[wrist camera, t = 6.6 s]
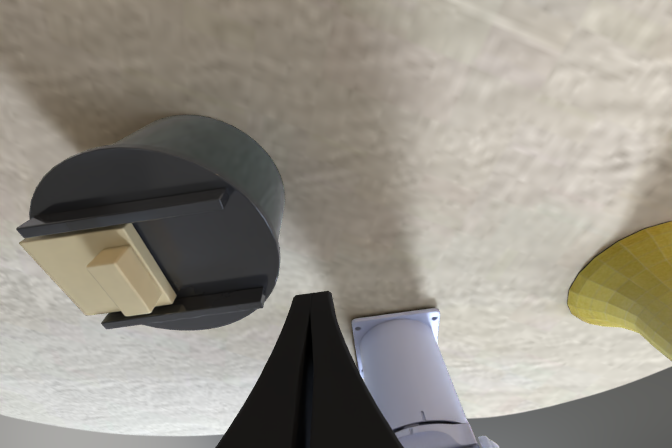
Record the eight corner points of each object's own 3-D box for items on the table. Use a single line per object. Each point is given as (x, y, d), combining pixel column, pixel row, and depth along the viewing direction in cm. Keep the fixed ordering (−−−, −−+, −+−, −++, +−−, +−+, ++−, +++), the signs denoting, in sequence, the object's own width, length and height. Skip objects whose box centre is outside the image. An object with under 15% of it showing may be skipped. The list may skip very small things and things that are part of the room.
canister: (266, 95, 16) (234, 135, 10) (303, 246, 22) (298, 332, 16) (78, 124, 16) (-70, 181, 10) (165, 265, 22) (105, 358, 16)
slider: (130, 219, 12) (104, 246, 11) (177, 295, 15) (161, 325, 13) (29, 234, 12) (-11, 262, 11) (93, 306, 15) (68, 337, 13)
